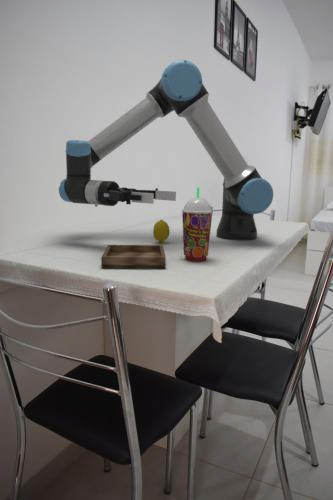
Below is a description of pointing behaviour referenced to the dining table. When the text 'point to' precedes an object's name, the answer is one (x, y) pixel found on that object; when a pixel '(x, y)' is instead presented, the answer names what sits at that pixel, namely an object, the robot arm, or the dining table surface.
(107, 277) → the dining table surface
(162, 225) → the lemon
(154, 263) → the walnut tray
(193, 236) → the smoothie
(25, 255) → the dining table surface
